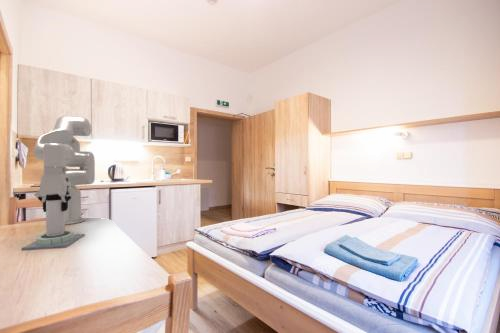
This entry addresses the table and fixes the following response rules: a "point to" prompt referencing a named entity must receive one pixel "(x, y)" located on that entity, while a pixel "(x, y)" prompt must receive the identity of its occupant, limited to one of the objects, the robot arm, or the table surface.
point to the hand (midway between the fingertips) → (55, 210)
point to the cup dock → (62, 245)
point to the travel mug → (54, 217)
